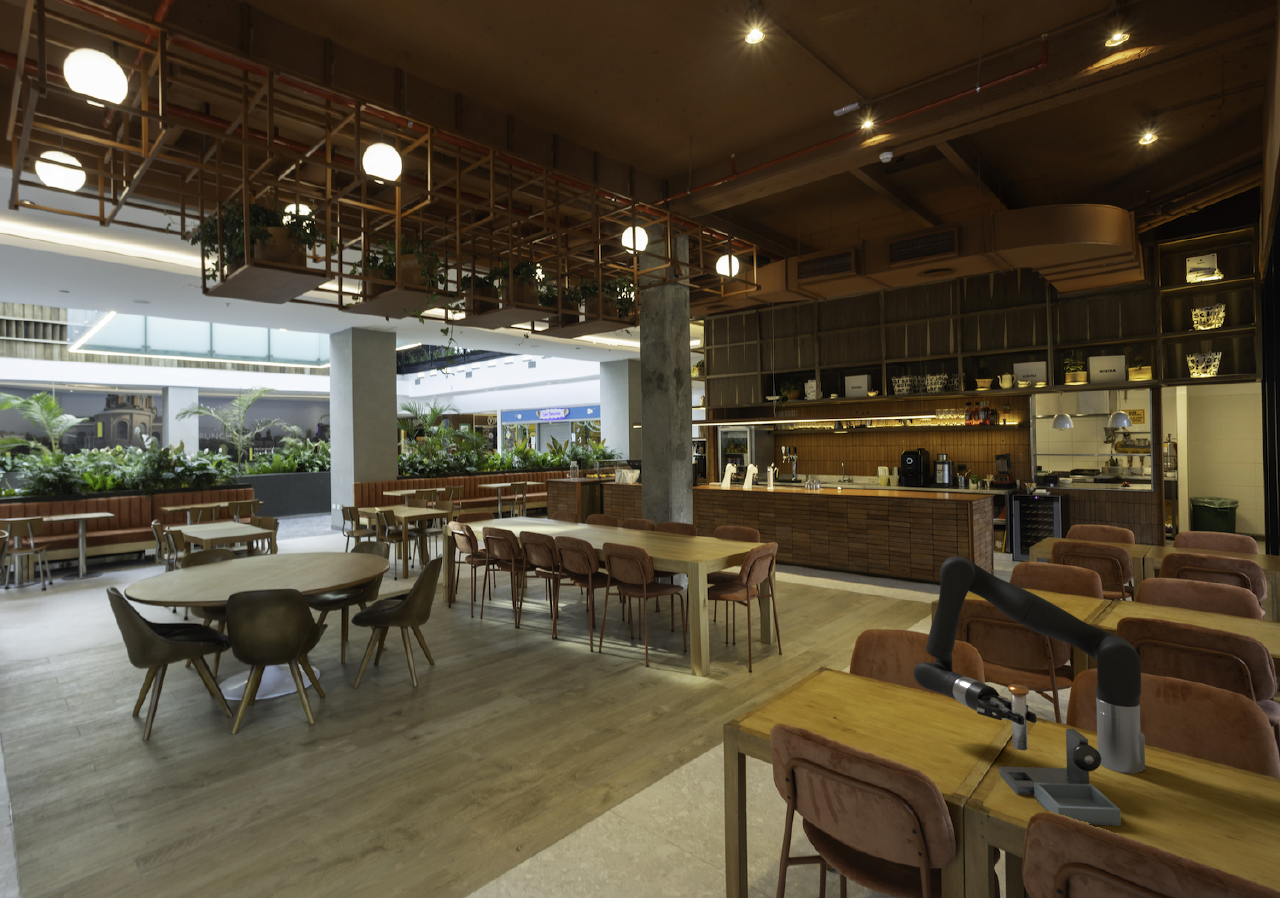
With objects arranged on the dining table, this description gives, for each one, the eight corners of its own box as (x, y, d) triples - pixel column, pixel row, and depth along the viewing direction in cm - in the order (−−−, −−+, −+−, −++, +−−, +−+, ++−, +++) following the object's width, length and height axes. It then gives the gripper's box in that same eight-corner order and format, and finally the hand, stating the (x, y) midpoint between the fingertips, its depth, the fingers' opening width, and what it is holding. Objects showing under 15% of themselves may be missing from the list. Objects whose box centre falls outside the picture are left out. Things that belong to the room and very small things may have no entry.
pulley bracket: (1079, 776, 166) (1078, 725, 166) (1103, 798, 156) (1102, 743, 156) (999, 774, 168) (997, 724, 168) (1017, 795, 158) (1016, 741, 158)
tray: (1092, 799, 156) (1091, 784, 156) (1120, 826, 145) (1120, 809, 145) (1034, 797, 157) (1034, 782, 157) (1058, 823, 146) (1058, 807, 146)
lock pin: (1025, 743, 165) (1023, 684, 165) (1033, 751, 161) (1032, 690, 161) (1006, 743, 165) (1005, 684, 165) (1014, 751, 161) (1013, 690, 161)
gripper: (953, 684, 175) (1005, 708, 158) (996, 678, 179) (1051, 701, 162) (954, 712, 175) (1006, 739, 158) (996, 705, 179) (1052, 731, 162)
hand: (1028, 719), depth 160 cm, fingers closed on lock pin, 3 cm apart
